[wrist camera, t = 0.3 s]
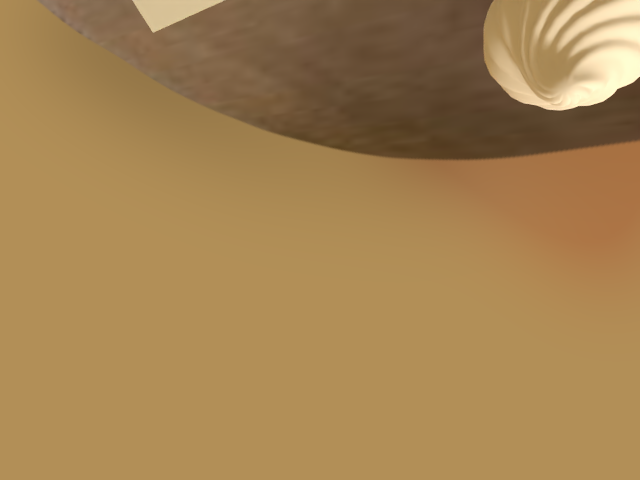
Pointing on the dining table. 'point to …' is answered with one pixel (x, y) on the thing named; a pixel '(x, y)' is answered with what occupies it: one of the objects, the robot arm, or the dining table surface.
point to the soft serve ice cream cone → (562, 49)
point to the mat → (170, 10)
